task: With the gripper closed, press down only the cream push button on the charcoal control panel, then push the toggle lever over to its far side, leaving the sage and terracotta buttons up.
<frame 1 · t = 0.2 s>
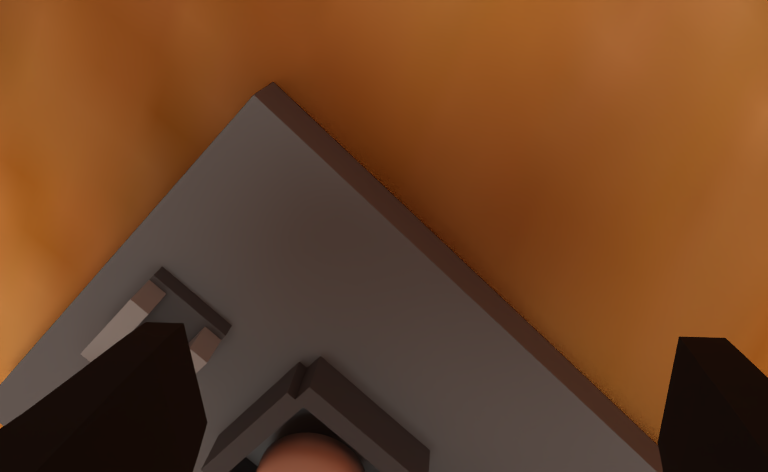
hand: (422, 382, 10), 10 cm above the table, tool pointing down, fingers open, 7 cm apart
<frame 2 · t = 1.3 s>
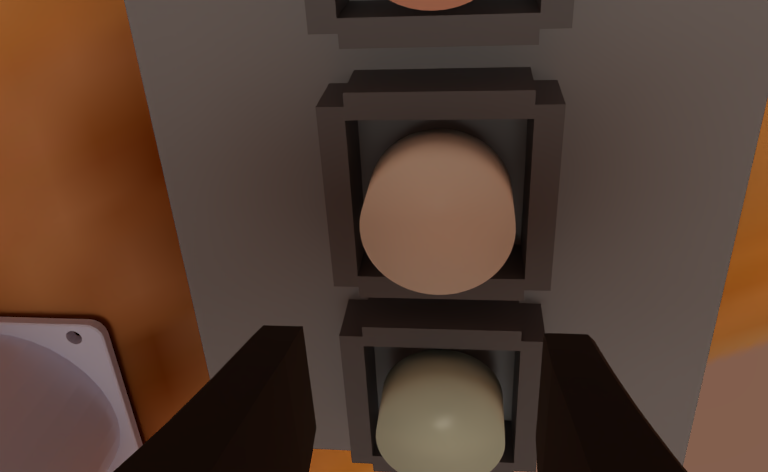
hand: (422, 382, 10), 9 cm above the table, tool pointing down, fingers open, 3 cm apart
control panel: (444, 46, 17), on the table
button sage: (441, 417, 18), point 4 cm above the table, slide at 0.0 cm
button cream: (438, 212, 15), point 4 cm above the table, slide at 0.0 cm
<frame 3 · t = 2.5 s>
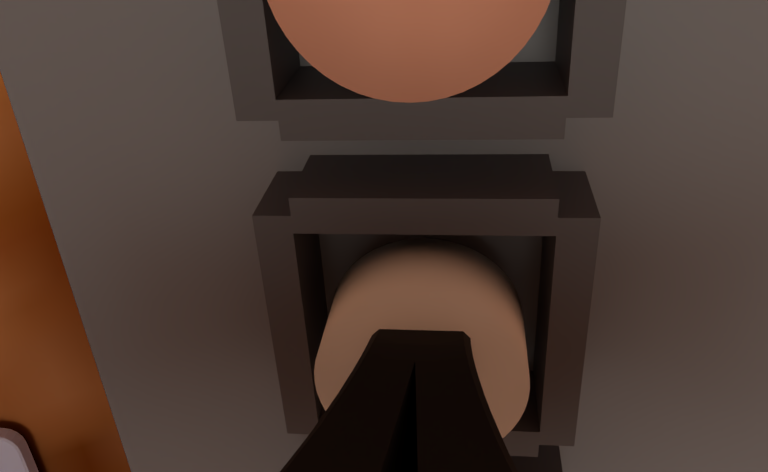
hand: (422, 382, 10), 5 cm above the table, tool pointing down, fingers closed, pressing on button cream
control panel: (432, 114, 13), on the table
button cream: (423, 351, 11), point 4 cm above the table, slide at 0.1 cm, touching gripper
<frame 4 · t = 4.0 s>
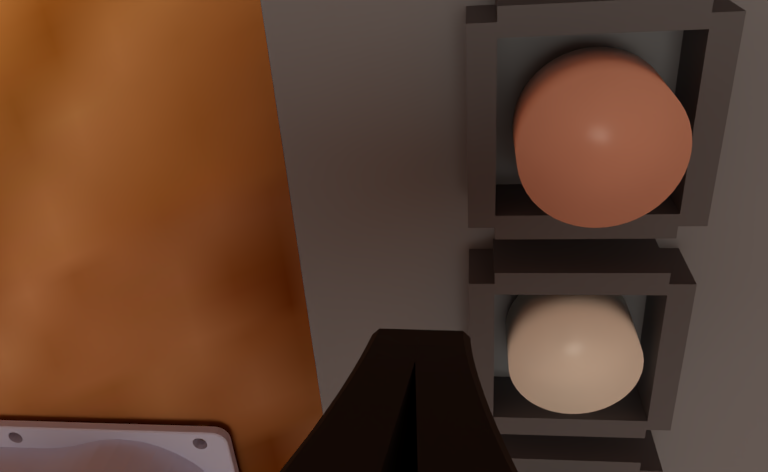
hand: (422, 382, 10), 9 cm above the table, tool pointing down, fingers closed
control panel: (563, 203, 19), on the table
button terracotta: (596, 137, 14), point 4 cm above the table, slide at 0.0 cm
button cream: (571, 344, 18), point 3 cm above the table, slide at 1.0 cm
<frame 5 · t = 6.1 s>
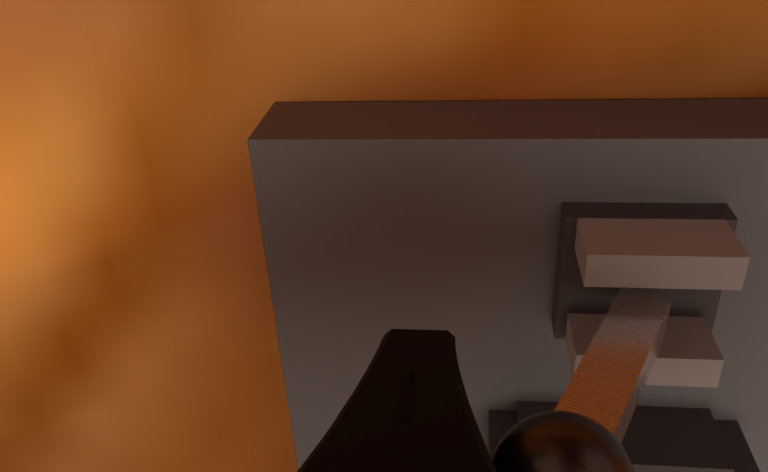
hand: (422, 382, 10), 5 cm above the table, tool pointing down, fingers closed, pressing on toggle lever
toggle lever: (599, 404, 10), point 6 cm above the table, hinge at -24.9°, touching gripper
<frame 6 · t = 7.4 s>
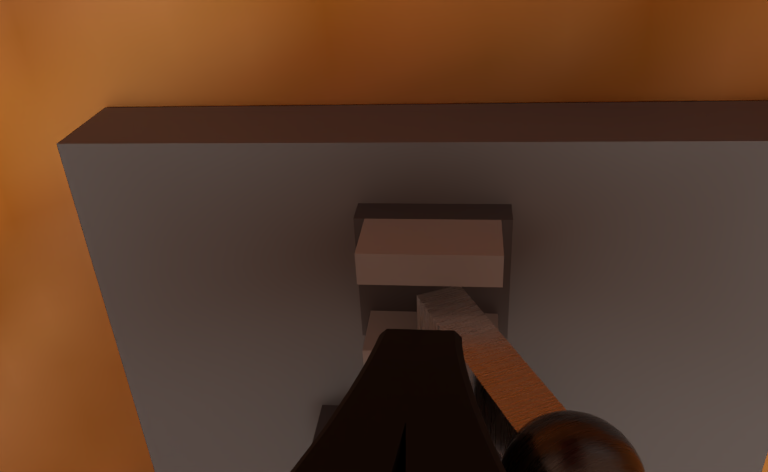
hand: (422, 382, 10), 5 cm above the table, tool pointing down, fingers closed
toggle lever: (509, 401, 10), point 6 cm above the table, hinge at 26.4°, touching gripper
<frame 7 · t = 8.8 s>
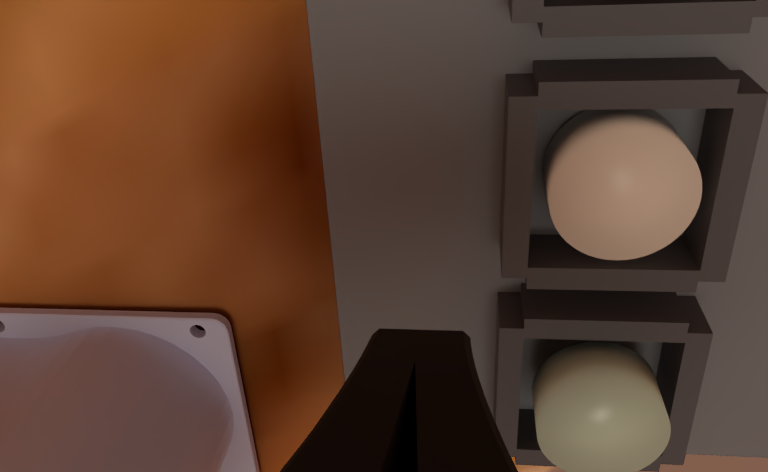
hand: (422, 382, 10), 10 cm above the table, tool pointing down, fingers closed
control panel: (607, 37, 17), on the table
button sage: (597, 410, 18), point 4 cm above the table, slide at 0.0 cm
button cream: (617, 181, 16), point 3 cm above the table, slide at 1.0 cm
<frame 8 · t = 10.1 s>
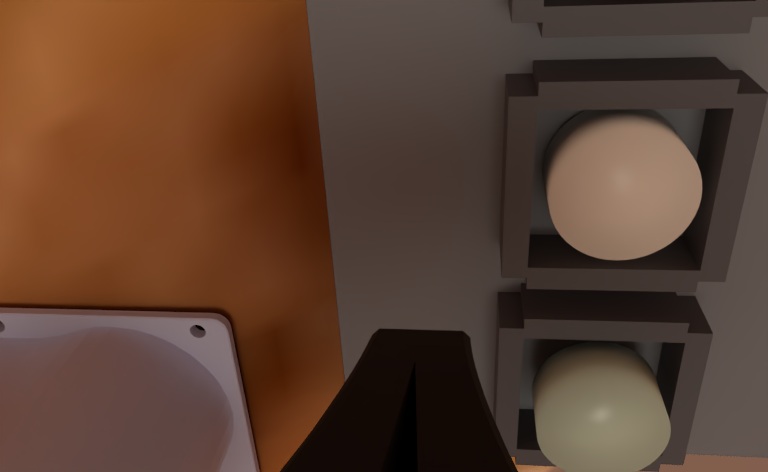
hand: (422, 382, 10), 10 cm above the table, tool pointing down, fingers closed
control panel: (607, 37, 17), on the table
button sage: (597, 410, 18), point 4 cm above the table, slide at 0.0 cm
button cream: (617, 181, 16), point 3 cm above the table, slide at 1.0 cm
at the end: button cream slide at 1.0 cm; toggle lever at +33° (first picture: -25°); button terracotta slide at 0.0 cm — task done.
